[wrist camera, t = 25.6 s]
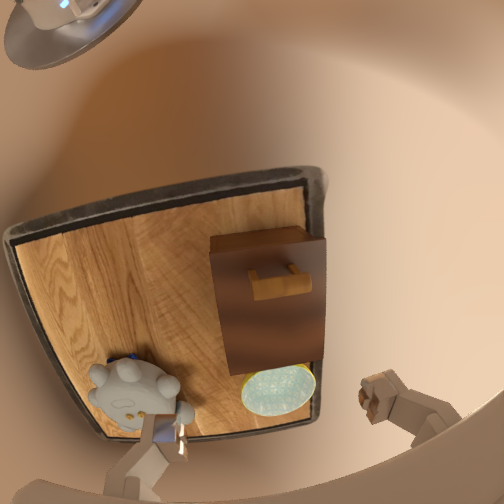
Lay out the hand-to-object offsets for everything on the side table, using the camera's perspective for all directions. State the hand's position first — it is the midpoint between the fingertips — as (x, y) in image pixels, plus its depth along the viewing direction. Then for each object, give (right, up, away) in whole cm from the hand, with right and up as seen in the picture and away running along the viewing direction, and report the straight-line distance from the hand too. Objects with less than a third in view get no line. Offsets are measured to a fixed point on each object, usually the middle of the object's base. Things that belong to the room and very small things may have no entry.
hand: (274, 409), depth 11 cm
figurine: (-20, -17, +31) cm, 41 cm away
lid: (+1, 0, +19) cm, 20 cm away
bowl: (+2, -12, +33) cm, 35 cm away
